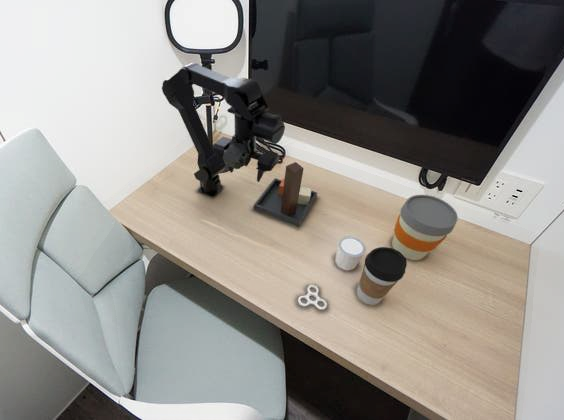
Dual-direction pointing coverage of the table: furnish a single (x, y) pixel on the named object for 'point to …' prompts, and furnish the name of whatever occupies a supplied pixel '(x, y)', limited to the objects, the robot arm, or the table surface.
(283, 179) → the terracotta block
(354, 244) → the white short cylinder
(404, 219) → the reusable coffee cup
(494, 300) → the table surface
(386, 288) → the coffee cup
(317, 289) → the fidget spinner
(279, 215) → the tray
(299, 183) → the brown square post
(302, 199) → the cream block
